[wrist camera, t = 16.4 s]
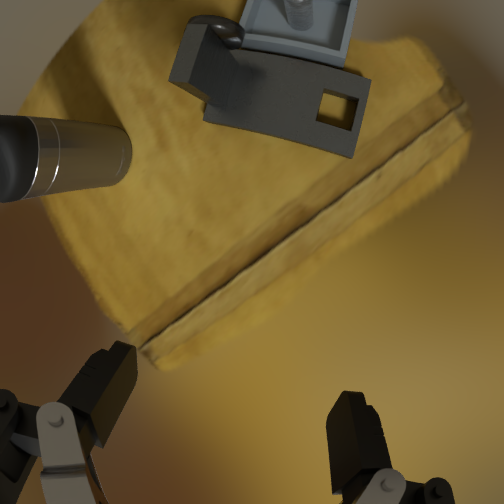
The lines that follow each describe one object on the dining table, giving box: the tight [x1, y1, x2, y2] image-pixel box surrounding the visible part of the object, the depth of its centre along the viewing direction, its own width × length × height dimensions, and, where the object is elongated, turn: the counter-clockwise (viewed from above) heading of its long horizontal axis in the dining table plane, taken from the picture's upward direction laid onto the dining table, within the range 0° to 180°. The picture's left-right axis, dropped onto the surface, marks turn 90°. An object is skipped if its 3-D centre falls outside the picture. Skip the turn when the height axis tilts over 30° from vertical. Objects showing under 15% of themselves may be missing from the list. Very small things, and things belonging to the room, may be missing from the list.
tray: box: [239, 0, 358, 69], centre depth 27 cm, size 13×11×4 cm
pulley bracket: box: [168, 15, 371, 159], centre depth 26 cm, size 20×10×13 cm, turn 75°
